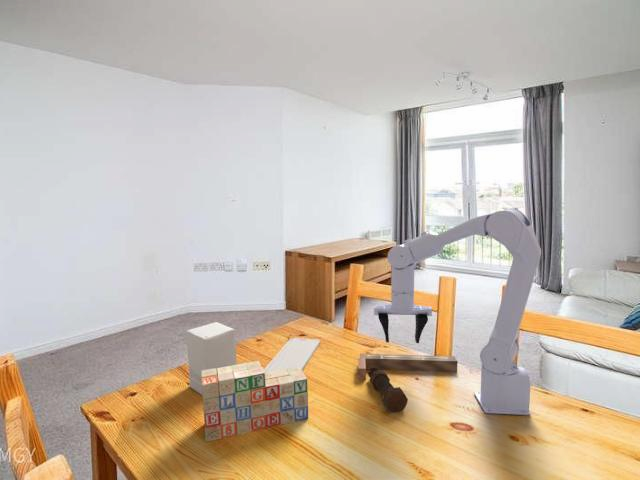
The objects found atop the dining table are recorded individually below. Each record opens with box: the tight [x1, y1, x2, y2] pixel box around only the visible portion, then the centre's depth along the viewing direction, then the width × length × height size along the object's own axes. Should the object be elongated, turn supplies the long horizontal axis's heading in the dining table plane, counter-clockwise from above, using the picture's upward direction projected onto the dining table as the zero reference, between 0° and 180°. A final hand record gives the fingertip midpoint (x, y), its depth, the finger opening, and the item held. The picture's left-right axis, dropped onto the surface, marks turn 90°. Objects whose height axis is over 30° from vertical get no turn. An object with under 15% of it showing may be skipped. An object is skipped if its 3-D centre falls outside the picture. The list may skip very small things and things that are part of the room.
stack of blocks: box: [201, 360, 309, 443], centre depth 77 cm, size 21×6×12 cm, turn 109°
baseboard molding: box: [263, 334, 321, 373], centre depth 106 cm, size 31×3×12 cm
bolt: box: [367, 368, 409, 414], centre depth 88 cm, size 6×5×15 cm
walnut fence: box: [357, 353, 458, 380], centre depth 98 cm, size 26×9×3 cm, turn 84°
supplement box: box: [185, 321, 238, 396], centre depth 92 cm, size 9×9×15 cm
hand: (402, 341), depth 96 cm, fingers open, 7 cm apart
